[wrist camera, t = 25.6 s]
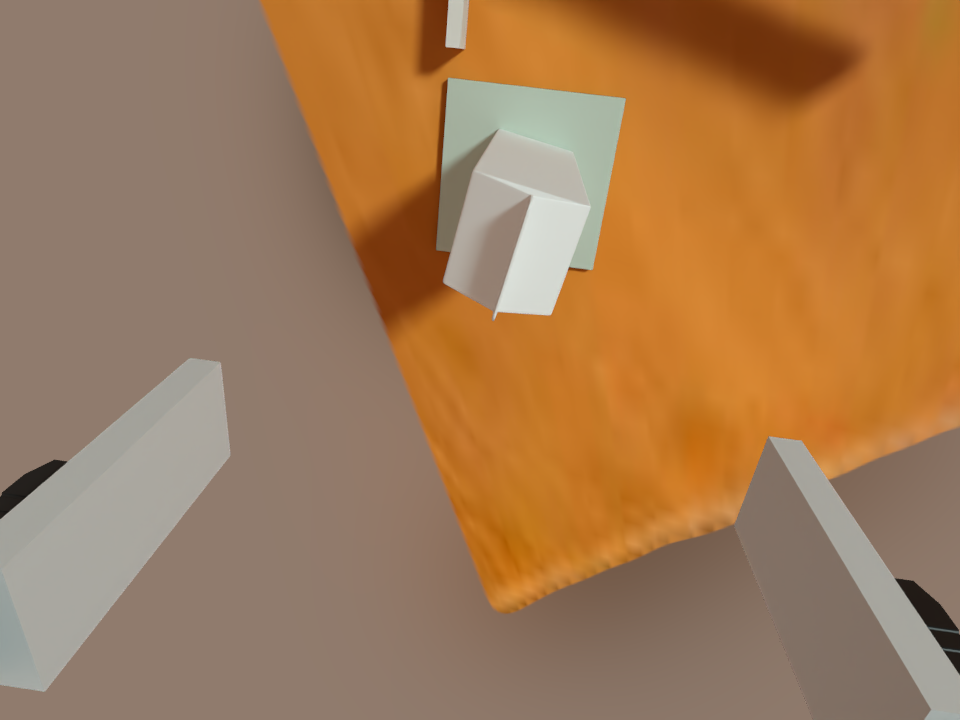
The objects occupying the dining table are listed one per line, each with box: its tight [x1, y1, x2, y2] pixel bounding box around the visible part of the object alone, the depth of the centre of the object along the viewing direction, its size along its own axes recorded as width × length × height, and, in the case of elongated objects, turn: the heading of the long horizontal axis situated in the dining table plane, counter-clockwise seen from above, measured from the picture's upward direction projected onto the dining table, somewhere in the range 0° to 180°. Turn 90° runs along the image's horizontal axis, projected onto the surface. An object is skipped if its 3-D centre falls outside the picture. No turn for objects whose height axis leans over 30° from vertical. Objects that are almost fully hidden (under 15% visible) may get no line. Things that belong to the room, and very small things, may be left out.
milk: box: [443, 129, 591, 321], centre depth 37 cm, size 6×6×22 cm
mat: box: [436, 78, 626, 270], centre depth 47 cm, size 13×13×1 cm
